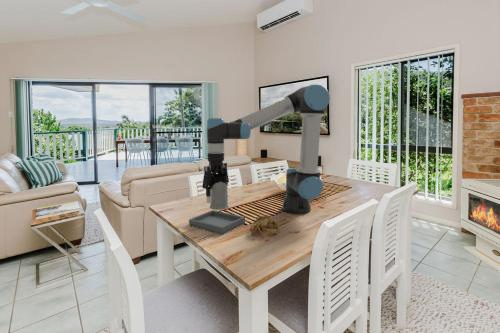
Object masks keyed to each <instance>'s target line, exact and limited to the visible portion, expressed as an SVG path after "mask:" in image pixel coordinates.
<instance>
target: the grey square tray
mask: <svg viewBox="0 0 500 333" xmlns="http://www.w3.org/2000/svg"><path fill="white" fill-rule="evenodd" d="M244 224H246V217H245V216H242V215H236V214H232V213H228V212H223V211H220V210H214V209H211V210H209V211H207V212H205V213H202V214H200V215H197V216H194V217H192V218H190V219H188V226H189V225H191V226H190V227H192V226H194V227H193V228H196V227H198V228H197V229H200V228H201V229H200V230H203V229H205V230H204V231H207V230H208V231H207V232H211V231H212V233H214V232H215V234H218V233H219V234H220V235H222V234H223V235H225V234H227V233H229V232H231V231H233V230H235V229H237V228H238V227H240V226H243V225H244ZM236 227H237V228H236ZM234 228H235V229H234ZM232 229H233V230H232ZM230 230H231V231H230ZM228 231H229V232H228ZM226 232H227V233H226ZM224 233H225V234H224ZM219 234H218V235H219Z"/></svg>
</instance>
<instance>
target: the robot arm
mask: <svg viewBox="0 0 500 333" xmlns="http://www.w3.org/2000/svg"><path fill="white" fill-rule="evenodd" d="M330 100H331V96H330V92H329V90H328V89H327V88H326V87H325V86H324V85H322V84H310V85H308V86H303V87H301V88H298V89H297V90H296V91H294V92H292V93H290V94H288V95H286V96H284V98H283V99H282V100H279V101H277V102H275V103H272V104H270V105H268V106H265V107H263V108H261V109H259V110H257V111H254V112H251V113H250V114H248V115H244V116H241V117H240V118H238V119H236V120H233V121H229V122H225V121H224V118H219V117H213V118H212V117H210V118H208V119H207V121H206V139H207V140H206V143H207V161H208V165H207V166H206V165H205V166H203V170H204V171H203V178H202V186H201V188H202V189H205V196H206V203H207V204H210V205H211V204H212V189H211V186H212V178H211V176H215V175H216V174H221V175H222V174H226V175H227V186H228V185H229V183H230V181H229V180H230V179H229V173H228V172H229V171H228V163H227V162H224V161H225V153H224V152H225V140H248V139H250V137H251V134H252V133H251V131H252V130H255V129H257V128H259V127H262V126H264V125H266V124H269V123H270V122H272V121H276V120H278V119H280V118H282V117H284V116H286V115H289V114H291V115H293V114H296V113H299V116H300V117H302V119H301V120H302V122H301V123H302V124H301V138H300V139H301V140H300V154H299V155H300V157H299V167H291V168H289V167H288V168H287V170H286V174H285V177H286V179H285V184H286V185H285V198H284V200H283V204H282V210H283V212H286V213H289V214H296V215H300V214H301V215H302V214H303V215H304V214H307V213H310V212H311V211H312V209H311V208H312V207H311V203H310V200H314V199H317V198H318V197H319V196H320V195H321V194H322V192H323V189H324V184H323V181H322V180H321V170H320V169H319V168H318V165H319V164H318V163H319V150H320V137H321V136H320V134H321V123H322V122H321V121H322V117H324V116H325V114H326V112H325V111H326V108H327V106H328V105H329V103H330Z"/></svg>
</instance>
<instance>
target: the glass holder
mask: <svg viewBox="0 0 500 333" xmlns="http://www.w3.org/2000/svg"><path fill="white" fill-rule="evenodd" d="M211 178H212V186H211V189H212V204H211V203H210V206H209V209H210V210H215V211H223V210H226V209H228V208H229V204H228V202H229V200H228V199H229V198H228V195H229V192H228V191H229V190H228V185H227V175H226V174H222V175H221V174H218V173H216V175H215V176H211Z"/></svg>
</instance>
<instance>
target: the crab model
mask: <svg viewBox="0 0 500 333" xmlns="http://www.w3.org/2000/svg"><path fill="white" fill-rule="evenodd" d="M255 219H256V220H254V221H253V223H252V224H253V225H249V226H250V228H249V230H248V231H250V232H253V233H252V236H255V234H256V231H257V230H258V233H259V235H260V236H261V237H263V238H265V236H264V235H263V232H265V233H267V234H271V235H277V234H278V233H280V231H279V230H280V227H279V223H278V222H277V221H276V220H271V218H270V216H267V215H264V216H263V215H260V216H257V217H255ZM269 225H272V227H273V228H266V227H267V226H269ZM261 230H262V231H261Z"/></svg>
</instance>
